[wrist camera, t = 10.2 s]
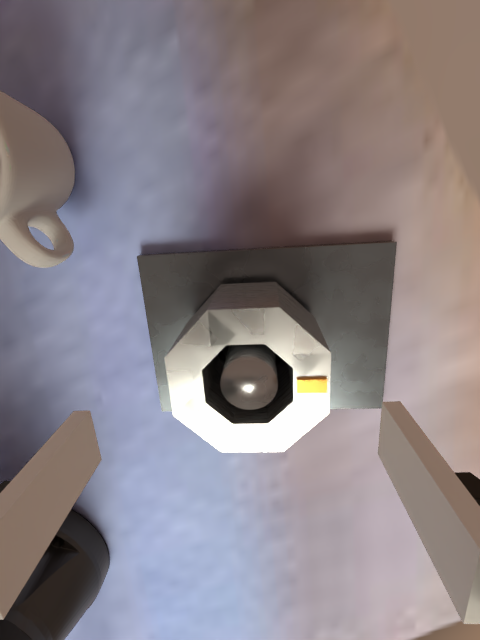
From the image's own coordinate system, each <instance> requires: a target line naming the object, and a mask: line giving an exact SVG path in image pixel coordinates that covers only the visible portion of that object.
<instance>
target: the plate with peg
mask: <svg viewBox="0 0 480 640" xmlns="http://www.w3.org/2000/svg"><path fill="white" fill-rule="evenodd" d="M396 244H397V242H394V241H382V242H363V243H345V244H327V245H309V246H290V247H272V248H254V249H236V250H217V251H199V252H181V253H163V254H144V255H139V256H137V260H138V266H139V272H140V278H141V285H142V291H143V297H144V303H145V309H146V316H147V322H148V328H149V334H150V341H151V347H152V353H153V359H154V365H155V372H156V378H157V384H158V390H159V397H160V403H161V409H162V411H172V405H171V399H170V392H169V385H168V379H167V372H166V365H165V359H164V358H165V356H166V355H167V353H168V352H169V350H170V348H171V347H172V345H173V344H174V342H175V341H176V339H177V338H178V336H179V335H180V333H181V332H182V330H183V328H184V327H185V325H186V324H187V322H188V321H189V320H190V319H191V318H192V317H193V315H194V314H195V313H196V312H197V311H198V310H199V309H200V308H201V306H202V305H203V304H204V303H205V302H206V301H207V300H208V298H209V297H210V296H211V295H212V294H213V293H214V292H215V291H216V289H217V288H218V287H219V286H220V285H221V284H237V283H258V282H276V283H278V284H279V285H280V286H281V287H282V288H283V289H284V290H285V291H286V292H288V293H289V294H290V295H291V296H292V297H293V298H294V299H295V300H296V301H298V302H299V303H300V304H301V305H302V306H303V307H304V308H305V309H306V310H307V311H309V312H310V313H311V314H312V315H313V316H314V317H315V319H316V321H317V323H318V326H319V328H320V330H321V332H322V334H323V336H324V339H325V341H326V343H327V345H328V347H329V350H330V352H331V374H330V409H365V408H382V402H383V391H384V380H385V369H386V357H387V346H388V334H389V323H390V312H391V300H392V289H393V278H394V266H395V255H396ZM218 355H219V358H220V359H221V360H222V361H224V362H225V364H224V368H223V372H222V376H221V381H220V386H221V391H222V393H223V395H224V397H225V398H226V399H227V401H228V402H230V403H231V404H232V405H234V406H236V407H238V408H241V409H246V410H254V409H259V408H262V407H264V406H266V405H267V404H268V403H270V402H271V401H272V400H273V398H274V397H275V395H276V392H277V389H278V381H277V368H276V365H277V364H278V363H279V362H280V361H281V360H282V358H281V357H279V356H278V355H277V354H276V353H275V352H274V351H272V350H271V349H270V348H269V347H268V346H267V345H265V344H249V345H226V346H225V347H224V348H223V349H222V350H221V351H220V352H219V353H218Z"/></svg>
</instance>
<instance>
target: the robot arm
mask: <svg viewBox="0 0 480 640" xmlns="http://www.w3.org/2000/svg"><path fill="white" fill-rule="evenodd" d="M378 455H379V457H380V459H381V461H382V463H383V465H384V467H385V469H386V471H387V473H388V475H389V477H390V479H391V481H392V483H393V485H394V487H395V489H396V491H397V493H398V495H399V497H400V499H401V501H402V503H403V505H404V507H405V509H406V511H407V513H408V515H409V517H410V519H411V521H412V523H413V525H414V527H415V529H416V531H417V533H418V535H419V537H420V539H421V540H422V542H423V544H424V546H425V548H426V550H427V552H428V554H429V556H430V558H431V560H432V562H433V564H434V566H435V568H436V570H437V572H438V574H439V576H440V578H441V580H442V582H443V584H444V586H445V588H446V590H447V592H448V594H449V596H450V598H451V600H452V602H453V604H454V606H455V608H456V610H457V612H458V614H459V616H460V618H461V620H462V622H463V624H480V479H478V478H477V477H476V476H474V475H473V474H472V473H470V472H463V473H454V472H453V470H452V469H451V468H450V466H449V465H448V464H447V462H446V461H445V460H444V458H443V457H442V456H441V455H440V453H439V452H438V451H437V449H436V448H435V447H434V445H433V444H432V443H431V441H430V440H429V439H428V437H427V436H426V435H425V433H424V432H423V431H422V429H421V428H420V427H419V426H418V424H417V423H416V422H415V420H414V419H413V418H412V416H411V415H410V414H409V412H408V411H407V410H406V408H405V407H404V406H403V404H402V403H401V402H400V401H398V402H382V411H381V423H380V435H379V447H378ZM101 460H102V459H101V455H100V451H99V447H98V442H97V438H96V434H95V429H94V425H93V421H92V417H91V412H90V411H74V412H73V413H72V414H71V415H70V416H69V417H68V418H67V419H66V421H65V422H64V423H63V424H62V425H61V426H60V427H59V428H58V429H57V431H56V432H55V433H54V434H53V435H52V436H51V437H50V438H49V439H48V441H47V442H46V443H45V444H44V445H43V446H42V447H41V448H40V450H39V451H38V452H37V453H36V454H35V455H34V456H33V457H32V458H31V460H30V461H29V462H28V463H27V464H26V465H25V466H24V467H23V468H22V470H21V471H20V472H19V473H18V474H17V475H16V476H15V477H14V478H13V480H12V481H4V482H3V483H1V484H0V640H64V639H65V638H66V637H67V636H68V634H69V633H70V632H71V630H72V629H73V628H74V626H75V625H76V624H77V622H78V621H79V620H80V618H81V617H82V616H83V614H84V613H85V612H86V610H87V609H88V608H89V607H90V606H91V604H92V603H93V602H94V600H95V599H96V597H97V595H98V593H99V591H100V589H101V586H102V584H103V582H104V579H105V577H106V575H107V572H108V568H109V554H108V550H107V547H106V545H105V543H104V541H103V539H102V537H101V536H100V534H99V533H98V532H97V531H96V529H95V528H94V527H93V526H92V525H91V524H90V523H89V522H88V521H87V520H85V519H84V518H83V517H82V516H80V515H79V514H77V513H76V512H74V511H73V510H71V509H72V507H73V505H74V504H75V502H76V501H77V499H78V497H79V496H80V494H81V492H82V491H83V489H84V488H85V486H86V484H87V483H88V481H89V479H90V478H91V476H92V474H93V473H94V471H95V470H96V468H97V466H98V465H99V463H100V461H101Z"/></svg>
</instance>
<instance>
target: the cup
mask: <svg viewBox="0 0 480 640" xmlns="http://www.w3.org/2000/svg"><path fill="white" fill-rule="evenodd" d="M74 180H75V168H74V162H73V158H72V155H71V152H70V149H69V147H68V145H67V143H66V142H65V140H64V138H63V137H62V135H61V134H60V133H59V132H58V130H57V129H56V128H55V127H54V126H53V125H52V124H51V123H50V122H49V121H47V120H46V119H45V118H44V117H42V116H41V115H40V114H38V113H37V112H35V111H33V110H32V109H30V108H28V107H27V106H25V105H23V104H22V103H20V102H18V101H17V100H15V99H13V98H12V97H10V96H8V95H7V94H5V93H3V92H2V91H0V239H1V240H2V242H3V243H4V244H5V245H6V246H7V247H8V248H9V249H10V250H11V251H12V252H13V253H14V254H15V255H16V256H17V257H18V258H20V259H21V260H22V261H24V262H25V263H27V264H29V265H32V266H34V267H40V268H48V267H53V266H56V265H58V264H60V263H62V262H63V261H65V260H66V259H67V258H69V256H70V255H71V254H72V252H73V249H74V243H73V240H72V237H71V235H70V233H69V231H68V230H67V228H66V227H65V225H64V224H63V223H62V221H61V220H60V219H59V217H58V215H57V213H56V211H57V210H58V209H59V208H60V207H62V206H63V205H64V204H65V202H66V201H67V200H68V198H69V196H70V194H71V192H72V189H73V186H74ZM28 226H30V227H34V228H37V229H39V230H41V231H42V232H43V233H44V234H46V235H47V236H48V238H49V239H50V240H51V242H52V244H53V246H54V250H50V249H47V248H45V247H44V246H42V245H41V244H40V243H38V242H37V241H36V240H35V238H34V237H33V236H32V234H31V233H30V231H29V228H28Z"/></svg>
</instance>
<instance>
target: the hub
mask: <svg viewBox="0 0 480 640" xmlns="http://www.w3.org/2000/svg"><path fill="white" fill-rule="evenodd" d="M249 344H265V345H267V346H268V347H269V348H270V349H271V350H272V351H274V352H275V353H276V354H277V355H278V356H279V357H281V358H282V360H281V361H280V362H279V363H278V364H277V365H276V368H277V381H278V389H277V392H276V395H275V397H274V398H273V400H272V401H271V402H270V403H268V404H267V405H266V406H264V407H262V408H259V409H254V410H246V409H241V408H238V407H236V406H234V405H232V404H231V403H230V402H228V401H227V399H226V398H225V397H224V395H223V393H222V391H221V386H220V381H221V376H222V372H223V368H224V364H225V362H224V361H222V360H221V359H220V358H219V355H218V353H219V352H220V351H221V350H222V349H223V348H224V347H225V346H226V345H249ZM164 359H165V365H166V372H167V379H168V385H169V392H170V399H171V405H172V412H173V416H174V417H176V418H177V419H178V420H179V421H181V422H182V423H183V424H185V425H186V426H187V427H189V428H190V429H191V430H193V431H194V432H195V433H197V434H198V435H199V436H201V437H202V438H203V439H205V440H206V441H207V442H209V443H210V444H211V445H213V446H214V447H215V448H216V449H218V450H219V451H220V452H284V451H285V450H286V449H287V448H289V447H290V446H291V445H292V444H293V443H295V442H296V441H297V440H298V439H299V438H301V437H302V436H303V435H304V434H305V433H307V432H308V431H309V430H310V429H311V428H313V427H314V426H315V425H316V424H317V423H319V422H320V421H321V420H322V419H323V418H325V417H326V416H327V415H328V414H329V411H330V374H331V352H330V350H329V347H328V345H327V343H326V341H325V339H324V336H323V334H322V332H321V330H320V328H319V326H318V323H317V321H316V319H315V317H314V316H313V315H312V314H311V313H310V312H309V311H307V310H306V309H305V308H304V307H303V306H302V305H301V304H300V303H299V302H298V301H296V300H295V299H294V298H293V297H292V296H291V295H290V294H289V293H288V292H286V291H285V290H284V289H283V288H282V287H281V286H280V285H279V284H278V283H276V282H258V283H237V284H221V285H220V286H219V287H218V288H217V289H216V291H215V292H214V293H213V294H212V295H211V296H210V297H209V298H208V300H207V301H206V302H205V303H204V304H203V305H202V306H201V308H200V309H199V310H198V311H197V312H196V313H195V314H194V315H193V317H192V318H191V319H190V320H189V321H188V322H187V324H186V325H185V327H184V328H183V330H182V332H181V333H180V335H179V336H178V338H177V339H176V341H175V342H174V344H173V345H172V347H171V348H170V350H169V352H168V353H167V355H166V356H165V358H164Z"/></svg>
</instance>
